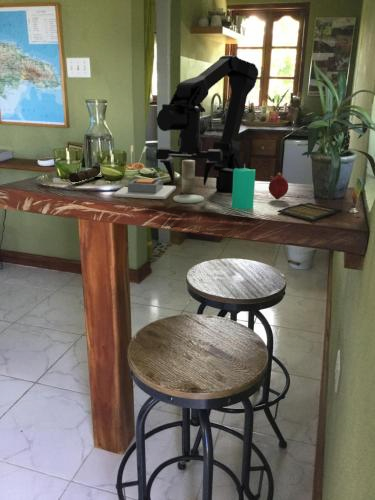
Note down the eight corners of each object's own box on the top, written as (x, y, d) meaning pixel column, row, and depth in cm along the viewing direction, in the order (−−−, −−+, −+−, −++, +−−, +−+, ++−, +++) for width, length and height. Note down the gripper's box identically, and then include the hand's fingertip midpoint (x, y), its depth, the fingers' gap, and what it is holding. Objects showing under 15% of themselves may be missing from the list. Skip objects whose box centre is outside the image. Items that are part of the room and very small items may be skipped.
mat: (205, 197, 137) (205, 195, 136) (201, 204, 128) (201, 202, 128) (176, 195, 138) (176, 193, 138) (170, 202, 130) (170, 200, 129)
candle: (256, 208, 124) (259, 165, 120) (236, 210, 122) (238, 165, 118) (247, 203, 129) (250, 161, 125) (228, 205, 128) (230, 162, 124)
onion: (290, 201, 133) (292, 174, 130) (271, 201, 132) (273, 174, 130) (283, 197, 139) (285, 171, 136) (265, 197, 138) (267, 171, 135)
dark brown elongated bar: (78, 184, 149) (76, 170, 147) (69, 184, 151) (67, 170, 149) (111, 176, 165) (110, 163, 164) (102, 176, 167) (101, 163, 165)
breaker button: (155, 183, 143) (155, 179, 143) (151, 186, 138) (151, 182, 138) (140, 182, 144) (140, 178, 143) (135, 185, 139) (135, 181, 139)
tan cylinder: (195, 191, 144) (195, 160, 141) (193, 194, 141) (193, 161, 137) (183, 190, 145) (183, 159, 142) (180, 193, 141) (180, 161, 138)
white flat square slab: (175, 188, 148) (175, 178, 147) (164, 199, 133) (164, 187, 132) (129, 186, 151) (128, 176, 150) (113, 196, 136) (112, 185, 135)
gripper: (225, 128, 132) (223, 180, 138) (163, 126, 135) (164, 178, 141) (221, 131, 122) (219, 188, 127) (154, 129, 125) (155, 184, 130)
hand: (188, 184), depth 132 cm, fingers open, 9 cm apart
